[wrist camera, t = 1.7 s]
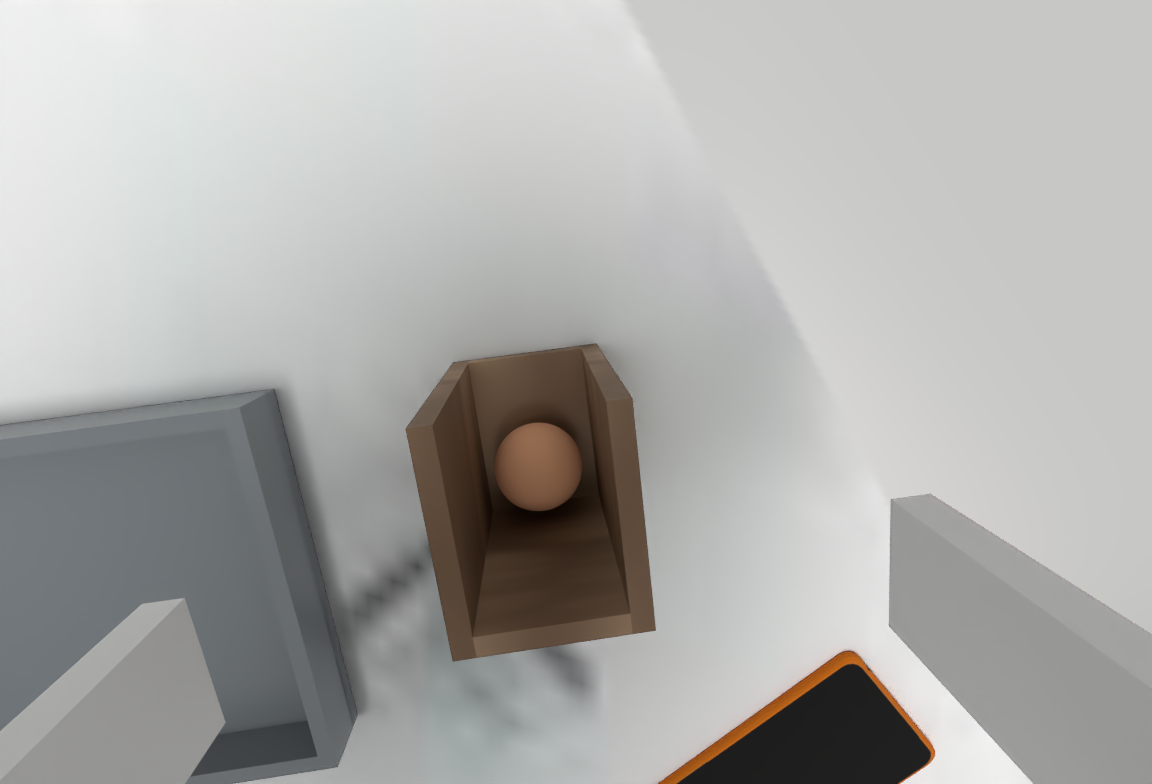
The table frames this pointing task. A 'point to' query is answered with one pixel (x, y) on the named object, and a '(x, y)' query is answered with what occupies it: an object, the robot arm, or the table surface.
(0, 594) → the tray
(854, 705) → the smartphone
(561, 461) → the ball
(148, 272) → the table surface
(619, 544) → the brown wooden bin
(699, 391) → the table surface
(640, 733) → the table surface
